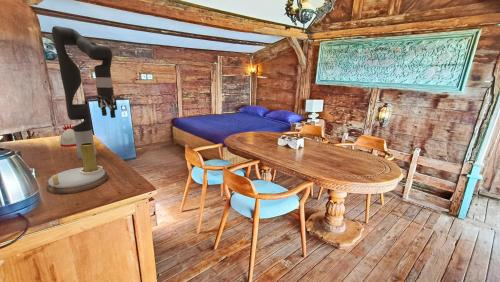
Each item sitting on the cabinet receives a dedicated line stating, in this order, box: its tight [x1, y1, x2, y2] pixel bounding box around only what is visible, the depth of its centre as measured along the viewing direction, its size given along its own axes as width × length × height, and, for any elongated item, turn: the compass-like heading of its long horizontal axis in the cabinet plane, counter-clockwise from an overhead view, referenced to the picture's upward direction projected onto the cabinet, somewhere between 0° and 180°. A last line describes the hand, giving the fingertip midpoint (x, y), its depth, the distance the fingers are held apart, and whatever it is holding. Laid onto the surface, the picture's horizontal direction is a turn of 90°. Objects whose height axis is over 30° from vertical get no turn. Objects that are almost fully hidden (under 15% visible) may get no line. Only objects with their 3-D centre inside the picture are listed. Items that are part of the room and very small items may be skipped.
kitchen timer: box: [59, 124, 77, 148], centre depth 172 cm, size 14×14×15 cm
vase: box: [80, 143, 98, 172], centre depth 116 cm, size 6×6×14 cm
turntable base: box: [45, 170, 109, 195], centre depth 113 cm, size 24×24×3 cm
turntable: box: [47, 165, 106, 189], centre depth 112 cm, size 22×22×6 cm
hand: (108, 116), depth 127 cm, fingers open, 8 cm apart
